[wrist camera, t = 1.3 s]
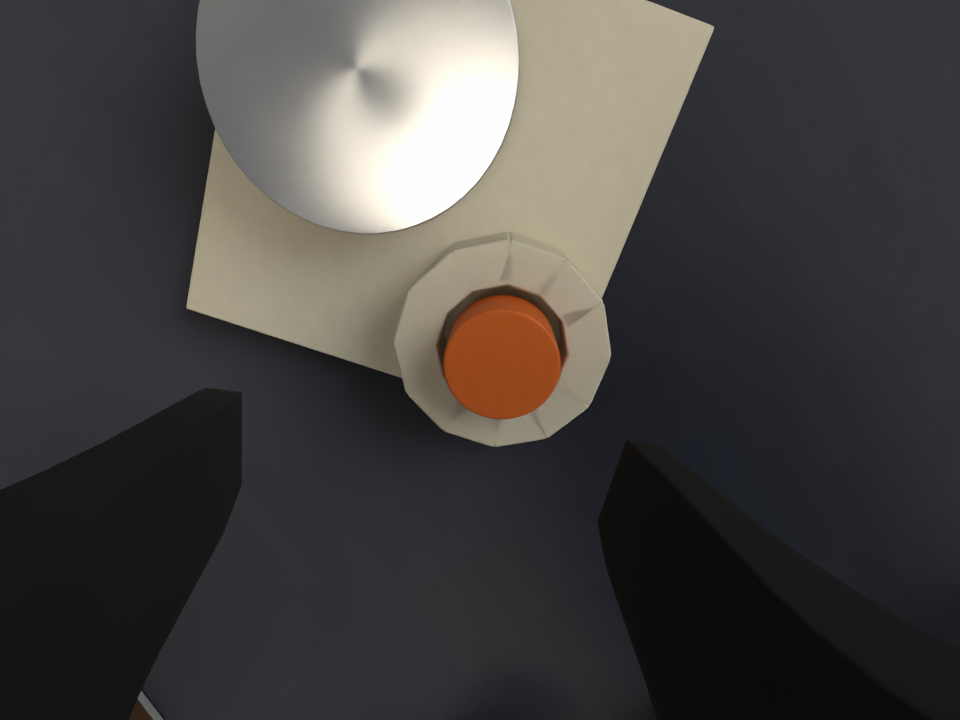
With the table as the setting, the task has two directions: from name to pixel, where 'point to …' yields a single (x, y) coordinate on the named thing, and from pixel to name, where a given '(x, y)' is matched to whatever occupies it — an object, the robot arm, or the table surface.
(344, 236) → the scale
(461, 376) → the tare button
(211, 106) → the weighing pan
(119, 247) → the table surface
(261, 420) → the table surface
